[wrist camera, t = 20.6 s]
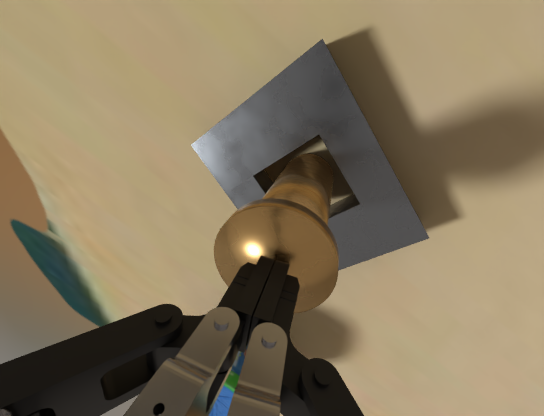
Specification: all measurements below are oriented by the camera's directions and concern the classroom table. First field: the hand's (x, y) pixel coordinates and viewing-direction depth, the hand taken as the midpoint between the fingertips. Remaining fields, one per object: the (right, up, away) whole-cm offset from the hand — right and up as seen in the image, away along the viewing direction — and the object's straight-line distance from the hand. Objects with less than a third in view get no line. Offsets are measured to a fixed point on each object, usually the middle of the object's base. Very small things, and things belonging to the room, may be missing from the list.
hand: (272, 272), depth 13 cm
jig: (+4, +6, +13) cm, 15 cm away
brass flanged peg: (+4, +6, +13) cm, 15 cm away
